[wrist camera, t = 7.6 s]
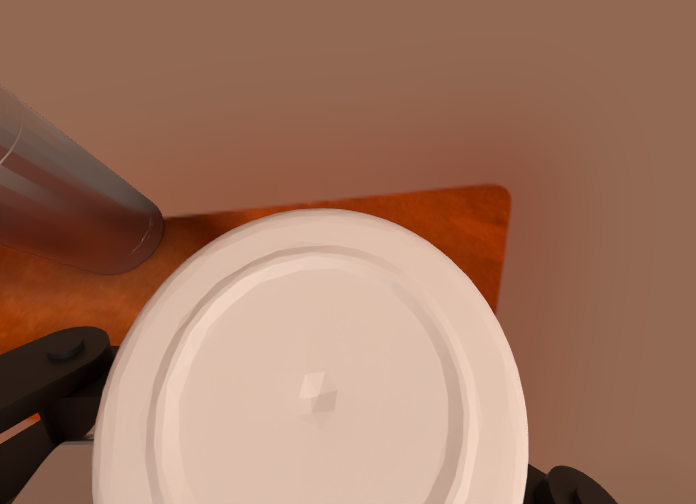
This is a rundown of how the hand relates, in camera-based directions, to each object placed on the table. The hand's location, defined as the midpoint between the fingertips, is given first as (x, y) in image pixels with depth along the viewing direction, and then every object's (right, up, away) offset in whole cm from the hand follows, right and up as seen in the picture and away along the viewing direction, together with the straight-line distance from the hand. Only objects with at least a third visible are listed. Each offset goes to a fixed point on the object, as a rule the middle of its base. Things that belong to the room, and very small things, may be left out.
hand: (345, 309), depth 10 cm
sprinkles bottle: (-1, -4, +6) cm, 7 cm away
